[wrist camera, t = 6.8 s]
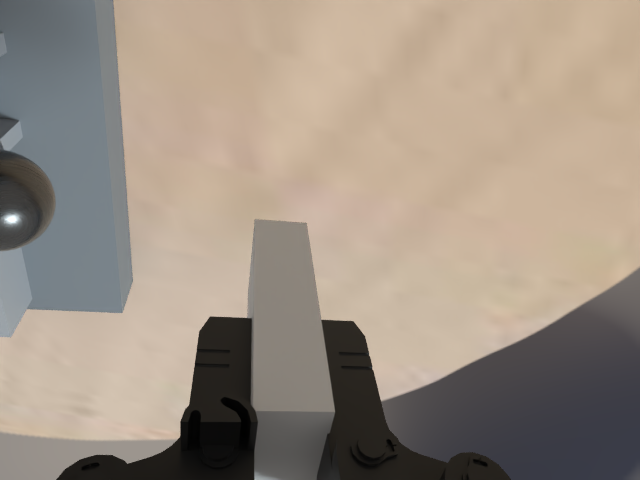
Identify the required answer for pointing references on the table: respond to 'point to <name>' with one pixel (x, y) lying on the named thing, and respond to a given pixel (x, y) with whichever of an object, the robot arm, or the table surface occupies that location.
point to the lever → (23, 200)
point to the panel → (66, 156)
